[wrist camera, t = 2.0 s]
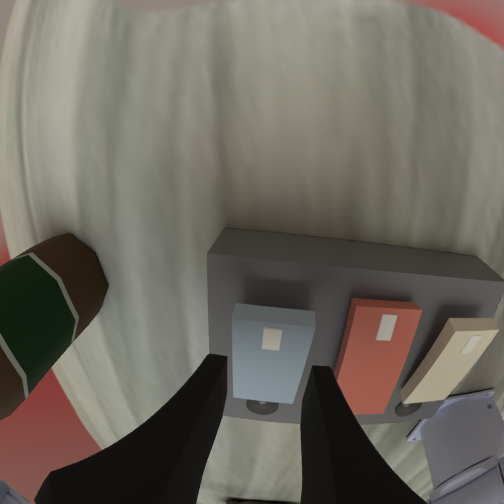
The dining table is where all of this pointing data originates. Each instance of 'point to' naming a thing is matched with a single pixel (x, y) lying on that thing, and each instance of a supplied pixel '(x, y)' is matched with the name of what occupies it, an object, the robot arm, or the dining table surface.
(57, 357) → the beer bottle
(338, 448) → the robot arm
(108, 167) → the dining table surface
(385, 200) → the dining table surface
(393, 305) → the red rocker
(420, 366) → the block
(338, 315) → the rocker switch panel
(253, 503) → the perforated stone tool
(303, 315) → the slate rocker
